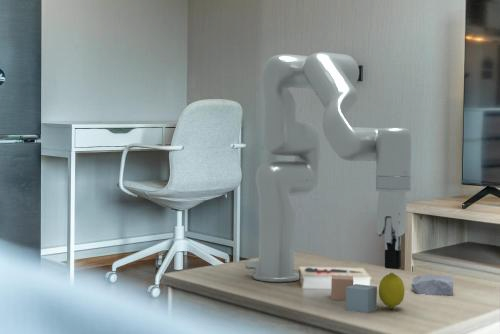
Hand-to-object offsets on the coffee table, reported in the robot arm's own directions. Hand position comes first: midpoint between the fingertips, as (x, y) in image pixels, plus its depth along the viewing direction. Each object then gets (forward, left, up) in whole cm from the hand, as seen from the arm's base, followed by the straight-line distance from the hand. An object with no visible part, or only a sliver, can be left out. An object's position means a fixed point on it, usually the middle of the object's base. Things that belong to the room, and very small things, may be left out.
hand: (392, 268), depth 161 cm
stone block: (+5, +26, -10) cm, 28 cm away
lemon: (0, 0, -9) cm, 9 cm away
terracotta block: (-13, +7, -9) cm, 18 cm away
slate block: (-6, -3, -9) cm, 11 cm away
